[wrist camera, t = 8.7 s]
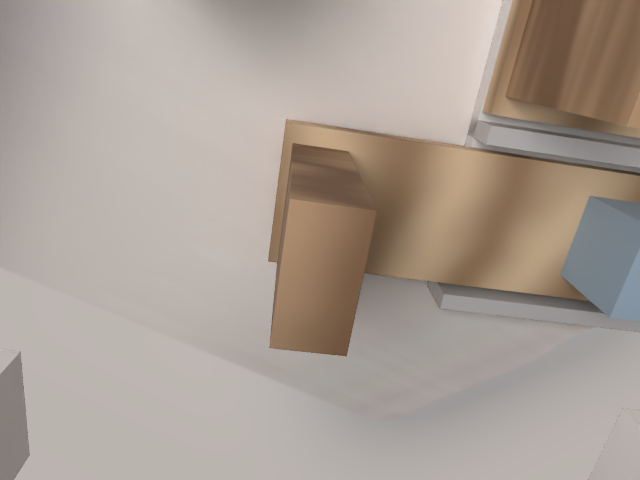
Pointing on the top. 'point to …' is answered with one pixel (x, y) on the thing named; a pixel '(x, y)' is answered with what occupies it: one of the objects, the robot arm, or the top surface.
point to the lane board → (548, 145)
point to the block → (607, 257)
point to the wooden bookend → (570, 65)
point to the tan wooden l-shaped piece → (416, 223)
